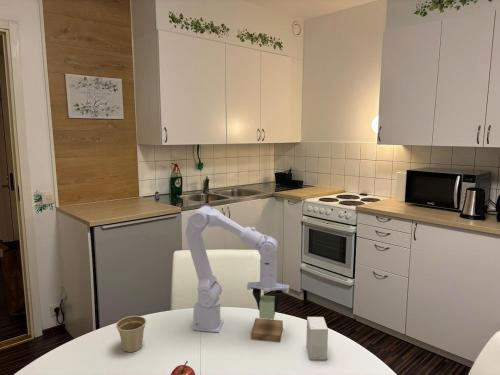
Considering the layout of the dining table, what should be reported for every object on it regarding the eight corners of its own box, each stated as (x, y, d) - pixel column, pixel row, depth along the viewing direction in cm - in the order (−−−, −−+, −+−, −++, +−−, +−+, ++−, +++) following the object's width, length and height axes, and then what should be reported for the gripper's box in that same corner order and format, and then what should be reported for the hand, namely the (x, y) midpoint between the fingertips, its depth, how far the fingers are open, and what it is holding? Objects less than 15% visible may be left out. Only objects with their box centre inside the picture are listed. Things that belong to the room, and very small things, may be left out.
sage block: (259, 318, 130) (259, 301, 129) (261, 310, 135) (261, 295, 134) (273, 319, 129) (274, 303, 128) (275, 312, 134) (275, 296, 133)
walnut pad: (251, 340, 129) (251, 332, 129) (255, 325, 139) (255, 318, 138) (280, 343, 128) (280, 335, 127) (282, 328, 137) (282, 320, 137)
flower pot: (112, 347, 124) (110, 323, 123) (137, 335, 131) (136, 312, 129) (126, 359, 118) (125, 333, 116) (152, 346, 125) (151, 322, 123)
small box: (327, 360, 118) (328, 329, 116) (309, 360, 118) (310, 329, 116) (322, 345, 126) (324, 316, 124) (306, 345, 126) (306, 316, 124)
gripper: (245, 275, 127) (245, 313, 129) (288, 278, 124) (287, 316, 127) (248, 268, 134) (248, 303, 136) (289, 270, 131) (288, 307, 134)
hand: (267, 309), depth 132 cm, fingers closed on sage block, 5 cm apart
